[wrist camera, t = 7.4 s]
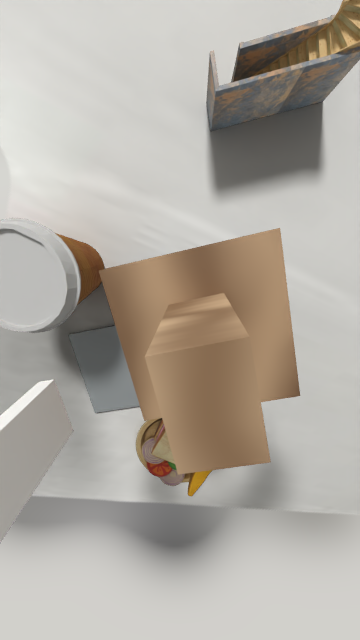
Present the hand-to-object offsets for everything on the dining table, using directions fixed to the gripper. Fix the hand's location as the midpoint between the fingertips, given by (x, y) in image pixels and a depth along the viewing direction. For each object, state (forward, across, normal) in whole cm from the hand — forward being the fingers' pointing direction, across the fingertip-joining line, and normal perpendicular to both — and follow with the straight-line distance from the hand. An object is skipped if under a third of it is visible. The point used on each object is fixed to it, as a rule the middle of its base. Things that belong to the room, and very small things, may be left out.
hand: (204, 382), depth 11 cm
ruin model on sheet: (+22, +10, +18) cm, 31 cm away
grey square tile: (+22, -12, -8) cm, 26 cm away
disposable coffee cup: (+22, -14, +6) cm, 27 cm away
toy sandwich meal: (+22, -7, -21) cm, 31 cm away
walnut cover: (+7, 0, 0) cm, 7 cm away
